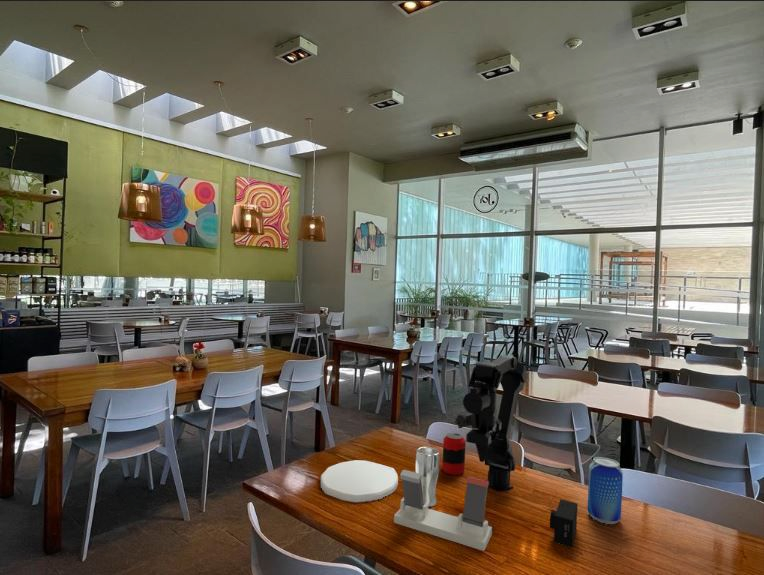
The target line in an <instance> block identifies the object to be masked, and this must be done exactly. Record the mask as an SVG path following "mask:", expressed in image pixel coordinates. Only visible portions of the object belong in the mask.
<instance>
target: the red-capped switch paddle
mask: <svg viewBox="0 0 764 575" xmlns="http://www.w3.org/2000/svg"><path fill="white" fill-rule="evenodd" d="M488 484H489V481H488V480H485V479H480V478H477V477H473V476H466V489H465V496H464V497H465V498H464V505H463V513H462V514H463V522H465V523H469V524H472V525H476V526H479V527H483V523H484V521H485V515H486V514H485V512H486V505H487V504H486V503H487V494H488V487H489V485H488Z"/></svg>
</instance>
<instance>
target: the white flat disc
mask: <svg viewBox="0 0 764 575" xmlns="http://www.w3.org/2000/svg"><path fill="white" fill-rule="evenodd" d="M398 485H399V474H398V473H397V471H396V470H395V468H393V467H390V466H387V465H383V464H380V463H377V462H373V461H369V460H361V459H360V460H359V459H358V460H357V459H354V460H349V461H343V462H339V463H337V464H333V465H331V466H328V467H327V468H326V470H325V471H324V472H323V473H322V474H321V475H320V489H321V488H322V491H323V492H324V494H325V495H329V496H330V497H334V498H336V499H338V500H341V501H346V502H351V503H365V502H366V501H367V502H372V501H373V500H374V501H378V499H379V500H381V499H383V497H384V498H385V496H386V497H387V496H389V495H391V494H393V493H395V491H396V489H397V488H398Z"/></svg>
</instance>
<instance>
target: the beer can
mask: <svg viewBox="0 0 764 575" xmlns="http://www.w3.org/2000/svg"><path fill="white" fill-rule="evenodd" d="M623 477H624V473H623V470H622V469H621V467H620V463H619V462H618V461H617V460H615V459H612V458H608V457H604V456H595V457H593V459H592V462H591V463H590V464H589V467H588V487H587V492H588V493H587V512H588V514H589V517H592V518H593V519H592V518H591V519H592V520H594V519H595V520H597V521H599V522H602V523H606V524H605V525H607V524H615V523H617V522H618V523H619V522H620V520H621V519H622V506H623V504H622V502H623V483H624V482H623V480H624V478H623ZM595 520H594V521H595ZM597 521H596V522H597ZM599 522H598V523H599ZM602 523H601V524H602ZM618 523H617V524H618ZM615 525H616V524H615Z"/></svg>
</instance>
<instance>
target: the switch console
mask: <svg viewBox="0 0 764 575" xmlns="http://www.w3.org/2000/svg"><path fill="white" fill-rule="evenodd" d="M393 516H394V518H393V523H394V524H397V525H399V526H403V527H407V528H410V529H413V530H416V531H419V532H422V533H425V534H429V535H431V536H435V537H438V538H442V539H445V540H448V541H450V542H451V541H452V542H454V543H458V544H461V545H464V546H466V547H470V548H474V549H476V550H479V551H483V552H484V551H485V550H486V548H487V546H488V544H489V541H490V539H491V537H492V534H493V527H492V526H491V525H489V520H486V519H484V522H483V527H479V526H476V525H472V524H469V523H465V522H463V513H459V515H458V516H456V515H451V514H450V513H449V514H448V513H445V512H442V511H437V510H434V509H431V508H429V507H428V504H426V503H425V505H424V506H423V510H421V509H417V508H414V507H410V506H407V505H405V502H404V496H403V497H402V498H401V499H400V508H399V509H398V510H397V511H396V512H395V514H394V515H393Z"/></svg>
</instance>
